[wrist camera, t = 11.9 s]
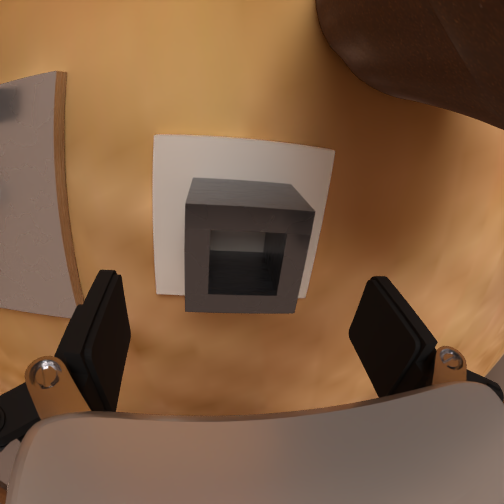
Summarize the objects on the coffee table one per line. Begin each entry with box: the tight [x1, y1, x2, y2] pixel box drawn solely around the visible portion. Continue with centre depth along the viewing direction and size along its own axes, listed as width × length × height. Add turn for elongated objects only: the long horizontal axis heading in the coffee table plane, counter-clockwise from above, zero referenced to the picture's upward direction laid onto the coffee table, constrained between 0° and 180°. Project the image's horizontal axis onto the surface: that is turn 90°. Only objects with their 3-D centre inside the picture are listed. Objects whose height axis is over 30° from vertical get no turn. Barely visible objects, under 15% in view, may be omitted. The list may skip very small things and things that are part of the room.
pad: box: [153, 134, 335, 298], centre depth 20 cm, size 11×11×1 cm
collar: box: [184, 178, 315, 313], centre depth 17 cm, size 6×6×5 cm
